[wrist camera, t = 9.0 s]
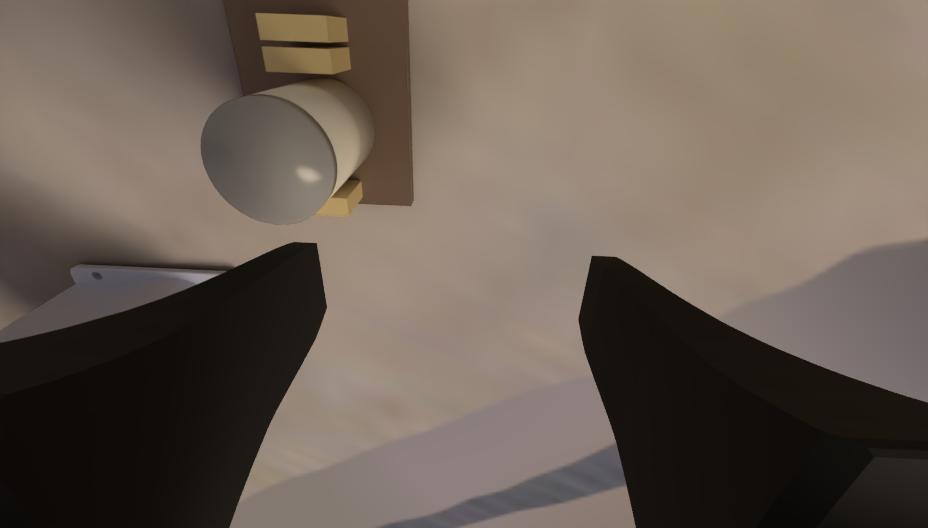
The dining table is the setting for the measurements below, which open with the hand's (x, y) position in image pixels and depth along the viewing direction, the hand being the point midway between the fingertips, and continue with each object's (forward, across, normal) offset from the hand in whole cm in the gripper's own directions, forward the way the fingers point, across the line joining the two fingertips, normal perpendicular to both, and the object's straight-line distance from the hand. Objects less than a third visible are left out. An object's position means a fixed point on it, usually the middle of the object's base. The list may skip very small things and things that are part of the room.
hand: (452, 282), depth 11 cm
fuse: (+9, +6, -2) cm, 11 cm away
